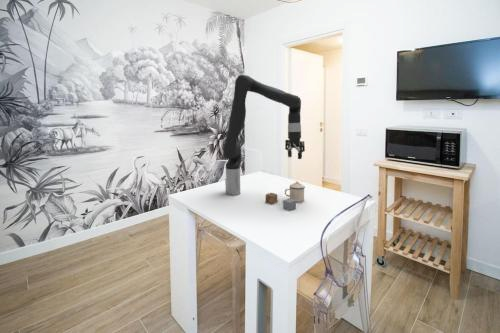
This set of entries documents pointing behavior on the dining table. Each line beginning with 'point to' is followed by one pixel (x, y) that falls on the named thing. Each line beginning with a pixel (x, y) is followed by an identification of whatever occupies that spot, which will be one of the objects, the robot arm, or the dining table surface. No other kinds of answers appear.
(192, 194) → the dining table surface
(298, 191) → the teacup with lid
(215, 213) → the dining table surface
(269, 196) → the walnut block
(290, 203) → the slate-grey block
